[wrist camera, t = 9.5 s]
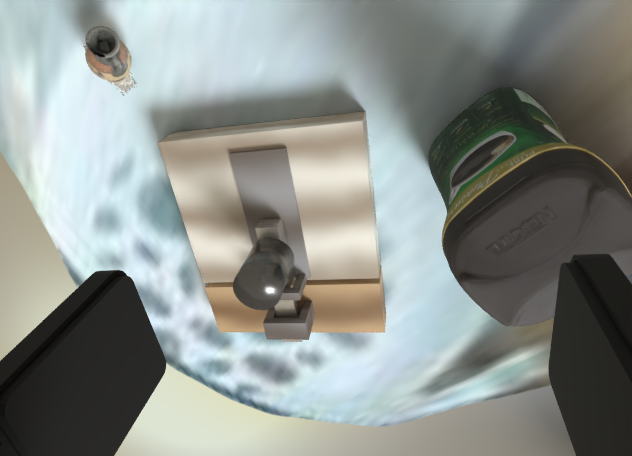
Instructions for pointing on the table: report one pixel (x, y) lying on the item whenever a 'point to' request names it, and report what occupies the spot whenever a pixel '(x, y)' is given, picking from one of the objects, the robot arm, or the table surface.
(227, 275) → the lock board
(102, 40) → the vase
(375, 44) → the table surface
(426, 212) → the table surface
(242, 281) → the dark metal knob
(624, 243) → the coffee jar
